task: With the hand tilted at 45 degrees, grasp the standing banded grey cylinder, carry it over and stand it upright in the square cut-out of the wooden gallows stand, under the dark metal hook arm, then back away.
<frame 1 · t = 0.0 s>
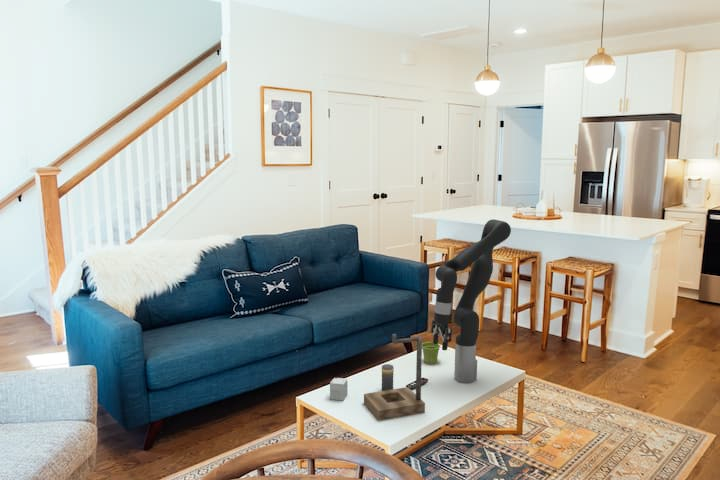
hand: (439, 346, 244), 17 cm above the table, tool pointing down, fingers open, 8 cm apart
skincare box: (338, 397, 233), on the table
plant pot: (430, 362, 272), on the table
wooden gallows stand: (393, 407, 223), on the table
banded grey cylinder: (387, 390, 240), on the table
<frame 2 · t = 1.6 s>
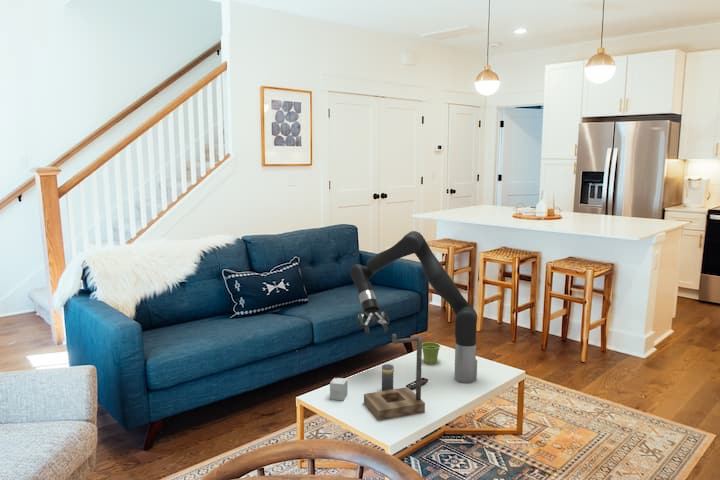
hand: (377, 333, 247), 22 cm above the table, tool tilted 45°, fingers open, 8 cm apart
nothing on the table moved.
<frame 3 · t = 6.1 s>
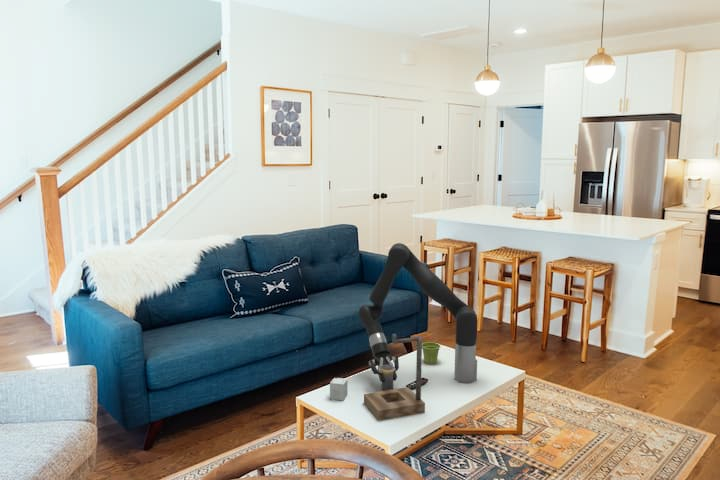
hand: (389, 380, 237), 5 cm above the table, tool tilted 45°, fingers closed on banded grey cylinder, 5 cm apart
banded grey cylinder: (387, 390, 240), on the table, touching gripper
everything else where it was.
when the fingers open (7 cm above the table, at t = 11.9 s): banded grey cylinder drops 1 cm, resting in wooden gallows stand.
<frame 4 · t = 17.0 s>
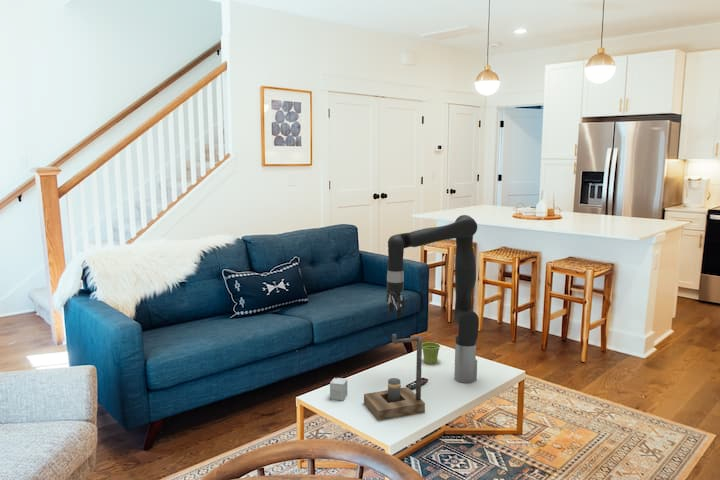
hand: (394, 315, 248), 30 cm above the table, tool pointing down, fingers open, 8 cm apart
banded grey cylinder: (393, 406, 225), resting in wooden gallows stand
everything else where it was.
at the end: banded grey cylinder inside the target area on the wooden gallows stand (0.6 cm from its centre), point 0.0 cm above the wooden gallows stand's base; banded grey cylinder tilted 0°; the gripper is holding nothing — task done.
